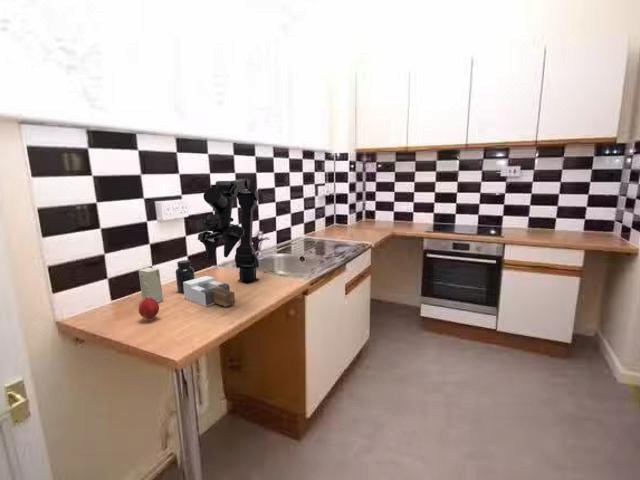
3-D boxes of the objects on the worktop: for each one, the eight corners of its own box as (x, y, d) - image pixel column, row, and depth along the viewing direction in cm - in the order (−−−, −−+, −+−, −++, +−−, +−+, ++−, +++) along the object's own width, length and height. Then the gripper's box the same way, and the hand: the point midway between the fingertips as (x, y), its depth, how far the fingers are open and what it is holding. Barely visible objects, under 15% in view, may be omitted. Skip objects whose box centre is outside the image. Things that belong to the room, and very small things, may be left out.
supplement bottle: (190, 286, 139) (187, 258, 137) (199, 290, 135) (196, 260, 132) (174, 291, 134) (171, 261, 131) (183, 294, 129) (180, 264, 127)
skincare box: (163, 301, 123) (160, 269, 121) (152, 305, 119) (148, 272, 117) (152, 298, 126) (149, 266, 124) (141, 302, 123) (137, 269, 120)
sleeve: (208, 290, 134) (206, 275, 132) (230, 298, 125) (229, 282, 124) (184, 298, 126) (183, 282, 125) (206, 306, 117) (205, 289, 116)
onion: (137, 319, 108) (134, 295, 106) (156, 314, 111) (153, 291, 110) (143, 325, 103) (140, 300, 102) (162, 319, 107) (160, 295, 106)
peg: (218, 297, 125) (217, 286, 124) (235, 303, 118) (234, 292, 118) (208, 300, 121) (207, 289, 121) (225, 306, 115) (224, 295, 115)
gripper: (186, 213, 116) (180, 257, 112) (218, 201, 105) (212, 250, 100) (214, 222, 124) (209, 263, 120) (247, 211, 113) (242, 257, 109)
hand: (217, 258), depth 112 cm, fingers open, 9 cm apart
